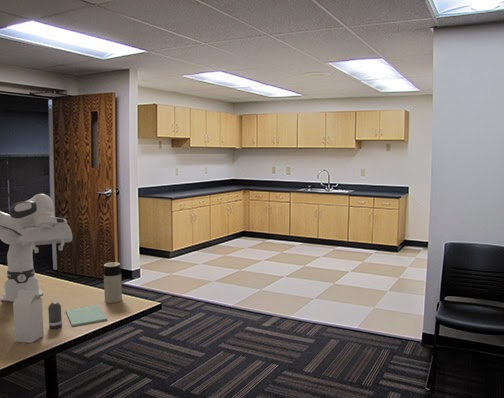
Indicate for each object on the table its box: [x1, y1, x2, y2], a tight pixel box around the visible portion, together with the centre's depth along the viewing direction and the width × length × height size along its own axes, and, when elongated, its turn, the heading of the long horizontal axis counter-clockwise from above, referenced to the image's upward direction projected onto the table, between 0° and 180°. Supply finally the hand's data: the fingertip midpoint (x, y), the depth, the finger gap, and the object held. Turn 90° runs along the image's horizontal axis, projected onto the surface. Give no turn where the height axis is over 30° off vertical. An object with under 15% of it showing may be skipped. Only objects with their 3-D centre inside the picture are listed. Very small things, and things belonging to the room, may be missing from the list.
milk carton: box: [12, 290, 45, 344], centre depth 175 cm, size 7×7×19 cm
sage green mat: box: [65, 304, 108, 327], centre depth 200 cm, size 20×14×1 cm
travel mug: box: [103, 261, 123, 304], centre depth 220 cm, size 8×8×18 cm
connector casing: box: [47, 301, 63, 330], centre depth 187 cm, size 5×5×10 cm
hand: (48, 251), depth 196 cm, fingers open, 8 cm apart
